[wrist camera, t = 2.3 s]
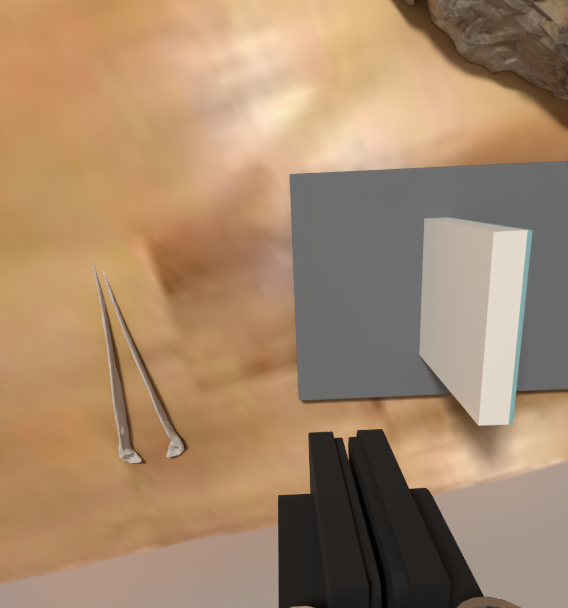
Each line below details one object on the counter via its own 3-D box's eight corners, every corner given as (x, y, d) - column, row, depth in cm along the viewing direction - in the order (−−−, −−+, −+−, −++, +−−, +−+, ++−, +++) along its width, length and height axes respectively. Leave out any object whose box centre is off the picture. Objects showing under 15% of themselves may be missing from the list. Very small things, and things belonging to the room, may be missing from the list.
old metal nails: (189, 447, 32) (182, 462, 30) (128, 458, 32) (118, 473, 30) (129, 213, 29) (116, 212, 27) (61, 227, 29) (45, 227, 27)
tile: (450, 217, 26) (532, 230, 18) (443, 353, 29) (513, 424, 20) (424, 218, 26) (493, 231, 18) (419, 354, 29) (478, 425, 20)
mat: (649, 157, 26) (657, 156, 26) (612, 382, 30) (619, 386, 29) (289, 174, 26) (289, 174, 26) (298, 396, 30) (299, 400, 30)
